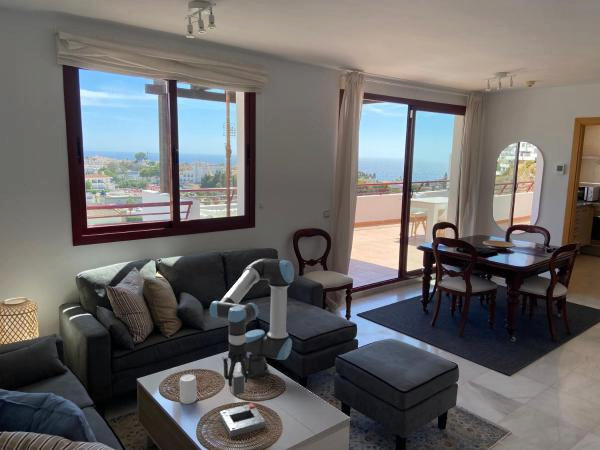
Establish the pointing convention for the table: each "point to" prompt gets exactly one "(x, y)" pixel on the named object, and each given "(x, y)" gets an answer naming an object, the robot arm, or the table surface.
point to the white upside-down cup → (188, 388)
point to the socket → (242, 419)
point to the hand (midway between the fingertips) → (237, 391)
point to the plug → (238, 383)
